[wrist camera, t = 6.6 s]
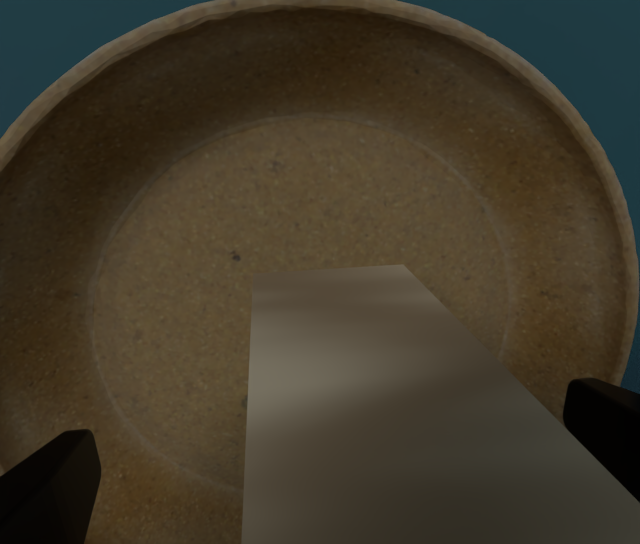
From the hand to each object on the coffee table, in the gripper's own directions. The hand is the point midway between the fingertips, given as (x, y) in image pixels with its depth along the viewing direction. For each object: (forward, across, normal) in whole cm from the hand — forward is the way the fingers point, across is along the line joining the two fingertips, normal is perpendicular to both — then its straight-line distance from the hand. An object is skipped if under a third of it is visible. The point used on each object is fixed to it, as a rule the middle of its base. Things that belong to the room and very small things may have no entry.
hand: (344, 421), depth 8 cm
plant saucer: (+4, 0, 0) cm, 4 cm away
